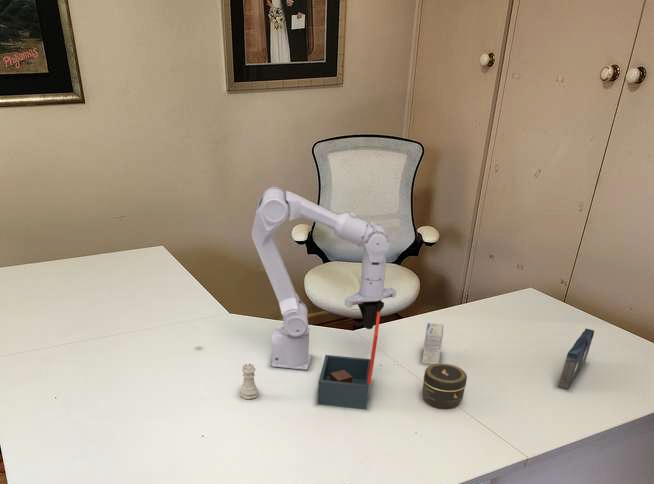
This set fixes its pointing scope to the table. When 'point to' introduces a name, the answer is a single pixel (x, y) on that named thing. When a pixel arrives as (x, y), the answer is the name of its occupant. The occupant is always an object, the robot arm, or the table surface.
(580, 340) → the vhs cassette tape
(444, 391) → the jar
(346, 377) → the block
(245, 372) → the rook chess piece
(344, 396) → the dark grey open box
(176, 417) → the table surface
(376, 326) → the lid
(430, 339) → the medicine box
